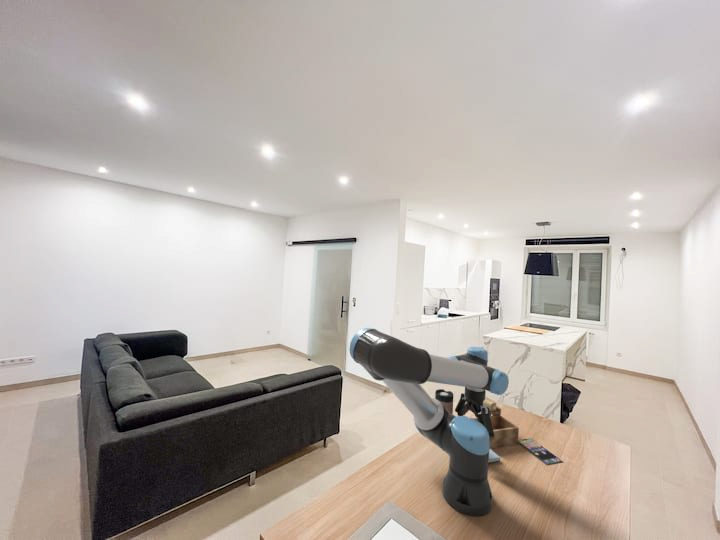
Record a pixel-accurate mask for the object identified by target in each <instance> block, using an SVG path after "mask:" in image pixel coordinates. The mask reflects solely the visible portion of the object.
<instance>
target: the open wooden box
mask: <svg viewBox="0 0 720 540" xmlns="http://www.w3.org/2000/svg"><path fill="white" fill-rule="evenodd" d="M484 407H486V406H484ZM489 414H490V419H491V423H492V427H493V432H494V437H493V438H490V439H489V443H490V449H491V450H492V449H496V448H503V447H508V446H515V445H519V444H518V440H519V432H520V431H519V429H520V428H519V427H518V426H517V425H515V424H514V423H513V422H511V421H510V420H508V419H506V418H505V417H503V416H502V415H501V414H502V408H500V407H498V406H497V405H496V410H495V411H491V410H490V409H489ZM473 419H475V420H477V421H478V419H477V417H473Z"/></svg>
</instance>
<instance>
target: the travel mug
mask: <svg viewBox="0 0 720 540" xmlns="http://www.w3.org/2000/svg"><path fill="white" fill-rule="evenodd" d="M434 399H437V400H438V401H440V403H441V404H442V405H443V406H444V407H445V409H446V410H447V411H448V412H449V413H451V414H452V415H454V393H453V392H452V391H450V390H447V391H446V390H445V389H443V388H442V389H441V388H439V389H436V390H435V393H434Z"/></svg>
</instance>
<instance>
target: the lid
mask: <svg viewBox="0 0 720 540" xmlns="http://www.w3.org/2000/svg"><path fill="white" fill-rule="evenodd" d="M497 461H498V462H499V461H501V457H500V456H499V455H498V454H497V453H496V452H494V450H492V449H490V450H489V461H488V463H493V462H497Z"/></svg>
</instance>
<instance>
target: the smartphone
mask: <svg viewBox="0 0 720 540" xmlns="http://www.w3.org/2000/svg"><path fill="white" fill-rule="evenodd" d="M517 445H520V447H522V449H525V450H526V451H528V452H529V453H530V454H531V455H532V456H534V457H535V458H536V459H538V460H539V461H540V462H542V463H543V464H544V465H546V466H549V465H554V464H560V463H564V461H563V460H562V459H560V458H559V457H558V456H556V455H555V454H554V453H552V452H551V451H550V450H548V449H547V448H545V447H544V446H542V445H541V444H540V443H538V442H537V441H535V440H534V439H533V438H530V437H529V438H524V439H518V444H517Z"/></svg>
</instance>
